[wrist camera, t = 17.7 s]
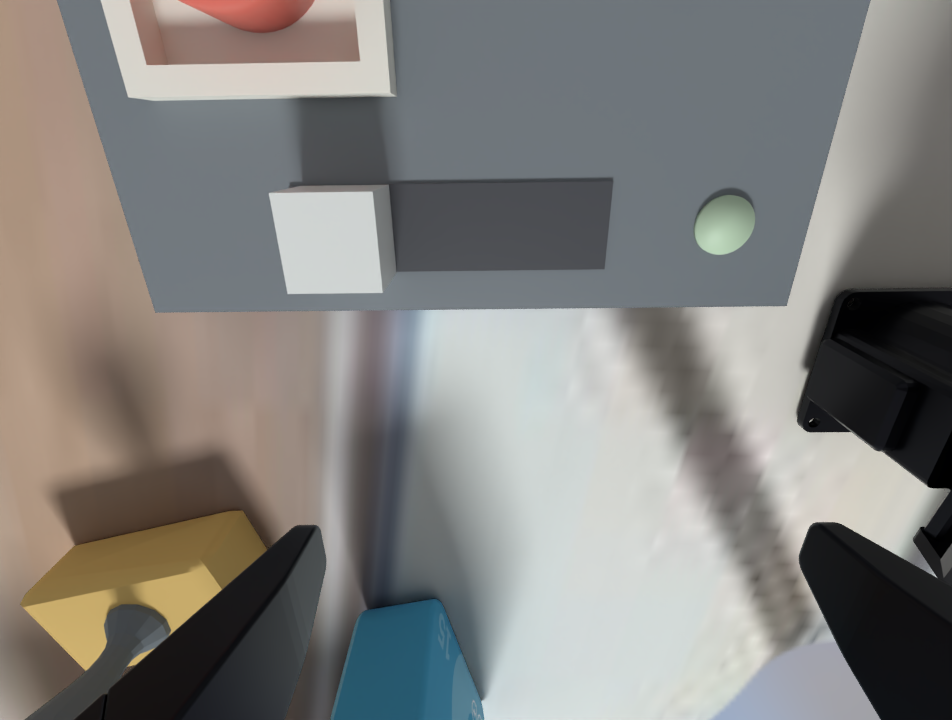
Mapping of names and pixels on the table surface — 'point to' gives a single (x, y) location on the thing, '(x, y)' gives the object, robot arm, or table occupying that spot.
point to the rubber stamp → (133, 596)
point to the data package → (406, 668)
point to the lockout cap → (254, 12)
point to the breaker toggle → (335, 238)
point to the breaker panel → (476, 144)
